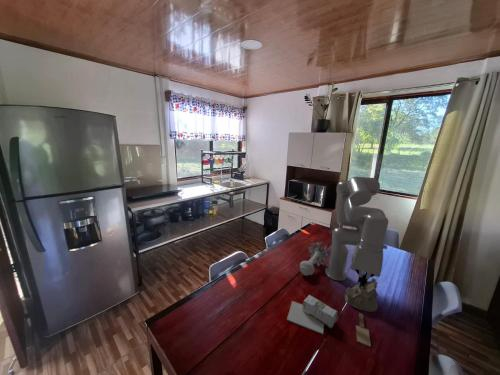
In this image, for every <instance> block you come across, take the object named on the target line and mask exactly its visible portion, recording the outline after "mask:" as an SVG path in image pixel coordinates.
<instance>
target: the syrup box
mask: <svg viewBox="0 0 500 375" xmlns="http://www.w3.org/2000/svg"><path fill="white" fill-rule="evenodd" d="M302 305H303V307H302V310H303V311H304V312H306V313H308V314H309V315H311V316H312V317H314V318H315V319H317V320H318V321H320V322H322V323H323V324H324V326H326V327H328V328H330V329H332V328H333V327H334V325H335V323H336V321H337V317H338V310H336V309H334V308H333V307H331V306H329V305H327V304H326V303H324V302H322V301H321V300H319V299H317V298H316V297H314V296H312V295H310V294H308V296H307V297H306V298H305V299H304V300H303V303H302Z"/></svg>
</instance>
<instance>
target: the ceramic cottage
mask: <svg viewBox="0 0 500 375" xmlns="http://www.w3.org/2000/svg"><path fill="white" fill-rule="evenodd" d="M377 287H378V282H377V280H376V278H374V277H371V280H367V284H365V286H364V287H363V286H360V284H358V283H356V284H355V285H354V286H352V287H347V288H346V291H345V294H344V300H345V303H346V304H348V305H350V306H351V307H353V308H355V309H357V310H360V311H364V312H369V313H370V312H376V311H377V310H378V307H379V306H378V301H377V300H378V299H377V296H379V294H378V292H377Z"/></svg>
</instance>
